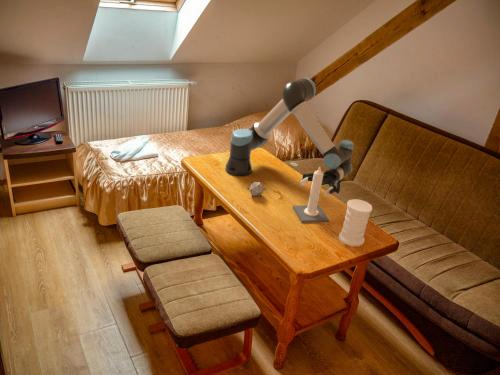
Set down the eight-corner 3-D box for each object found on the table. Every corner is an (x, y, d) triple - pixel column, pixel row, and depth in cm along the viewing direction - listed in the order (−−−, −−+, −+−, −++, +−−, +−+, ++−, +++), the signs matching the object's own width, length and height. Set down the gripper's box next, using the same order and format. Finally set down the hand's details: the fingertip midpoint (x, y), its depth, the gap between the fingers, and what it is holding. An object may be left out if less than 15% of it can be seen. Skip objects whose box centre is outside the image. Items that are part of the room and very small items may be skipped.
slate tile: (292, 207, 220) (292, 205, 220) (318, 207, 224) (318, 205, 223) (301, 222, 208) (301, 220, 208) (328, 221, 212) (329, 219, 211)
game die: (257, 203, 228) (263, 195, 219) (243, 195, 227) (248, 187, 219) (264, 190, 232) (270, 182, 223) (250, 182, 232) (255, 174, 223)
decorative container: (334, 239, 198) (342, 205, 190) (344, 229, 207) (352, 196, 199) (358, 249, 193) (367, 215, 185) (367, 238, 202) (376, 205, 193)
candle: (320, 216, 213) (330, 169, 202) (307, 216, 211) (316, 170, 200) (315, 208, 219) (323, 163, 208) (301, 209, 217) (310, 163, 206)
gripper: (354, 190, 218) (334, 205, 202) (310, 173, 230) (289, 186, 214) (357, 177, 214) (337, 191, 199) (313, 160, 227) (291, 172, 211)
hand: (312, 188), depth 206 cm, fingers open, 13 cm apart
